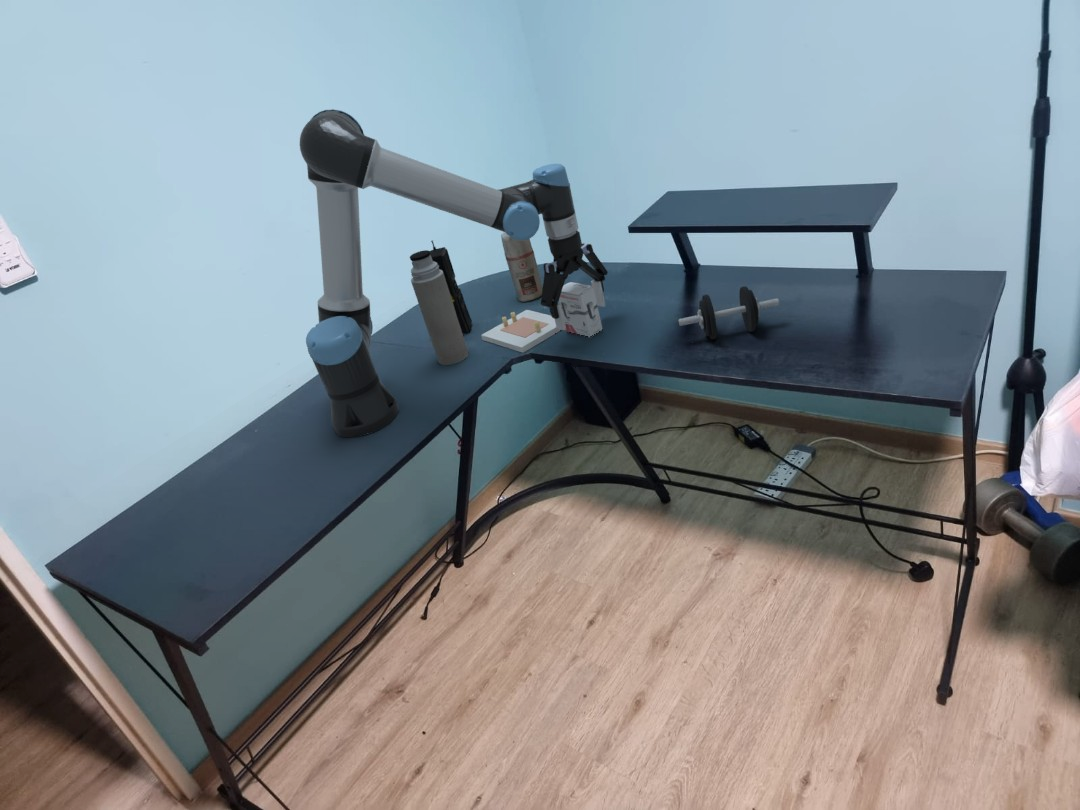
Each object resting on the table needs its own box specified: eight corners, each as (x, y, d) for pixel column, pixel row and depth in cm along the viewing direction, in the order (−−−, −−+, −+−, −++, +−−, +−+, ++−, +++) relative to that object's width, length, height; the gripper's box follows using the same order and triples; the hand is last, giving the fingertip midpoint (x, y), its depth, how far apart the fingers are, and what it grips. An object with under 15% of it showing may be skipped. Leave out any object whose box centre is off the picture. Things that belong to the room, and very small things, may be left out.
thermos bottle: (451, 348, 185) (418, 247, 172) (474, 351, 181) (442, 246, 167) (432, 363, 180) (396, 259, 166) (455, 366, 175) (420, 259, 162)
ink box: (565, 333, 178) (555, 289, 172) (579, 324, 180) (569, 281, 174) (590, 338, 171) (580, 293, 166) (603, 329, 174) (594, 285, 168)
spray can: (512, 303, 203) (494, 237, 193) (521, 292, 209) (504, 226, 200) (540, 301, 200) (523, 232, 190) (548, 289, 206) (532, 222, 197)
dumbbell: (773, 314, 160) (770, 273, 156) (786, 332, 152) (783, 289, 147) (678, 334, 163) (672, 294, 158) (686, 353, 154) (680, 311, 149)
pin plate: (523, 352, 173) (519, 338, 171) (482, 340, 186) (478, 326, 184) (569, 325, 181) (566, 310, 179) (528, 314, 193) (524, 301, 191)
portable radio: (470, 334, 191) (443, 246, 178) (448, 339, 191) (420, 251, 179) (473, 322, 197) (447, 236, 185) (452, 327, 198) (425, 241, 186)
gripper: (533, 256, 155) (554, 342, 165) (611, 216, 167) (626, 298, 177) (512, 252, 160) (534, 336, 171) (589, 214, 172) (605, 294, 183)
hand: (581, 317), depth 174 cm, fingers open, 13 cm apart
